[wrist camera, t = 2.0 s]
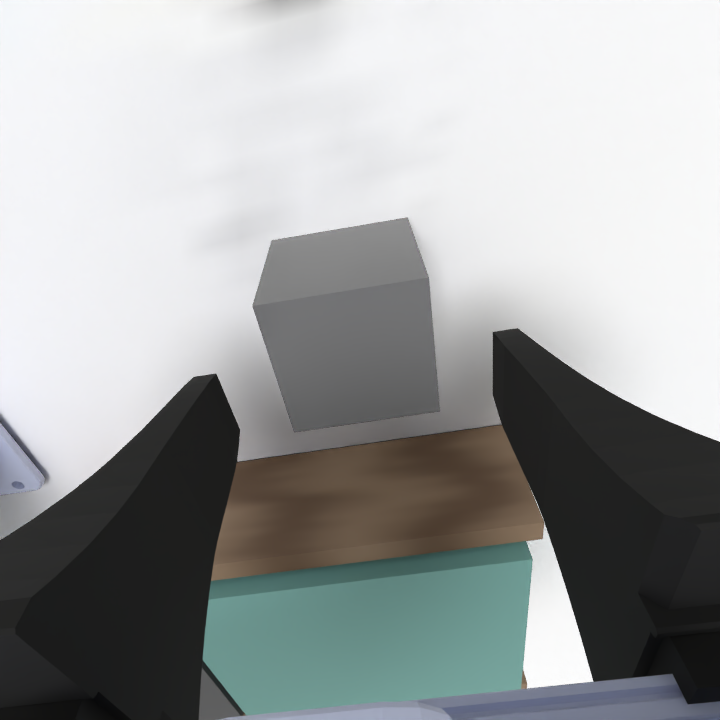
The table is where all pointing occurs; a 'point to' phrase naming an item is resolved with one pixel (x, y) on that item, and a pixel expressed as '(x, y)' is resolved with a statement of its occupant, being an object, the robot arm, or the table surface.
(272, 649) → the trapdoor
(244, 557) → the frame
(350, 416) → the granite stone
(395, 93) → the table surface
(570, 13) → the table surface
